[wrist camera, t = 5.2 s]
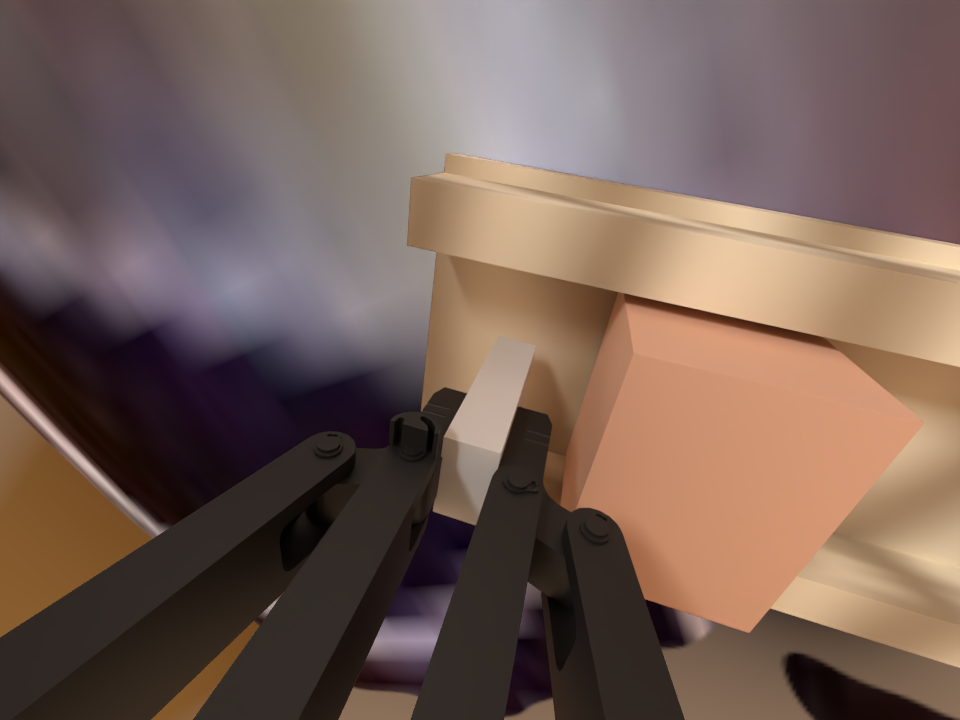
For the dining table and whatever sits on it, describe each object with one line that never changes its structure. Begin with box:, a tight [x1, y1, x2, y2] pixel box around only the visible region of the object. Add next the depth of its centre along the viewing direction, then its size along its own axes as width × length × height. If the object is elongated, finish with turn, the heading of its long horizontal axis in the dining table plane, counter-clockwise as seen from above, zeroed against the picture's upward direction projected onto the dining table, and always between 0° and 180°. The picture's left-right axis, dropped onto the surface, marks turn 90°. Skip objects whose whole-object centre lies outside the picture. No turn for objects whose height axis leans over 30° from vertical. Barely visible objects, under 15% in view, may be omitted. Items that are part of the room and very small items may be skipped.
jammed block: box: [560, 292, 924, 633], centre depth 14 cm, size 6×8×6 cm
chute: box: [407, 154, 960, 668], centre depth 15 cm, size 25×14×5 cm, turn 81°
